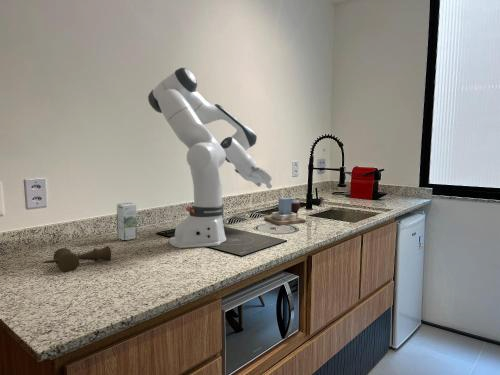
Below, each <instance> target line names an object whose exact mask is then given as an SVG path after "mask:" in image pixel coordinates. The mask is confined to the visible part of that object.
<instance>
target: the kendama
mask: <svg viewBox="0 0 500 375" xmlns="http://www.w3.org/2000/svg"><path fill="white" fill-rule="evenodd" d="M52 258H53V259H50V260H44V261H43V262H42V264H51V263H52V264H54V263H55V264H56V265H57V267H58V269H59V271H61V272H63V273H67V272H74V271H75V270H77V268H78V267H79V265H80V261H94V262H96V263H97V262H99V261H101V260H102V261H107V262H110V261H111V260H112V249H111V247H110V246H109V245H106V246H104V247H103V248H100V249H99V248H93V250H91V251H88V252H85V253H81V254H77V253H74V252H72V251H71V250H70V249H69V248H66V247H62V248H58V249H57V250H56V251H55V252H54V253H53V257H52Z"/></svg>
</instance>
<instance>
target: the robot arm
mask: <svg viewBox="0 0 500 375" xmlns="http://www.w3.org/2000/svg"><path fill="white" fill-rule="evenodd" d="M197 87H198V81H197V78H196V76H195V75H194V74H193V72H192V71H190V70H189V69H188V68H186V67H180V68H178V69H176V70H175V71H174V72H173V73H171V74H169V76H167V77H166V78H164V79H163V80H161V81H160V83H158V84H157V85H156V86H155V87H154V89H152V90H151V91H150V92H149V94H148V95H147V101H148V104H149V105H150V106H151V108H152V109H153V110H154V111H155V112H157V113H159V114H162V115H163V117H164V119H165V120H166V122H167V123H168V125H169V126H170V128H171V130H172V131H173V132H174V134H175V135H176V137H177V138H178V140H180V142H181V143H183V144H184V145H185V146H186V147H187V148H188V150H187V153H186V161H187V164H188V165H189V168H190V169H189V170H190V174H191V178H192V185H193V202H194V203H193V206H189V205H187V206H186V207H185V211H186V212H188V213H189V215H188V216H187V217H186V218H184V219H183V220H182V221H180V223H178V224H177V226H176V227H175V231H174V236H173V237H170V238H169V239H168V242H169V244H170V245H171V246H172V247H175V248H179V249H186V248H200V247H214V246H215V247H216V246H220V245H221V244H222V243H224V242H226V240H227V237H226V233H225V227H224V205H223V191H222V190H223V185H222V183H221V178H220V172H219V168H220V167H221V166H222V165H223V164H224V163H225V161H226V162H227V163H230V164H233V166H234V167H235V169H234V172H235V173H237V174H238V175H239V176H241V178H242V179H243V180H246V182H252V183H253V184H254V185H255V186H257V187H261V185H262V184H264V185H265V187H266V188H267V189H272V188H273V185H272V184H271V181H272V179H273V178H272V176H271V175H270V174H269V173H268V172H267V171H266V170H265V169H263V167H258V166H257V164H258V163H257V161H256V160H255V159H254V158H253V157H252V156H251V155H250V154H249V153H248V152H247V151H248V149H250V148H252V147H253V146H255V145H256V144H257V138H258V137H257V134H256V132H255V131H254V130H253V129H251V128H250V127H249V126H247V125H245V124H243V122H242V121H241V120H239V119H238V118H236V117H235V115H234V114H232V113H231V112H229V110H227V109H225V108H224V107H223V106H222V105H220V104H217V103H216V104H213V103H211V102H208V100H206V99H205V98H204V97H203V96H202V94H201V93H200V92H198V90H197ZM221 120H223V121H226V122H227V123H228V124H229V125H231V126H232V127H233V128H234V129H235V130H236V132H234V134H232V135H231V136H227V137H225V138H224V139H222V141H220V143H219V142H218V140H217V139H216V138H215V136H213V134H212V133H211V132H210V131H209V130H208V128H207V127H206V126H205V125H208V124H211V123H213V122H215V121H221Z"/></svg>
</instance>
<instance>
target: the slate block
mask: <svg viewBox="0 0 500 375" xmlns="http://www.w3.org/2000/svg"><path fill="white" fill-rule="evenodd" d="M291 199H292V198H291ZM291 199H290V197H278V212H279V214H280V215H290V214H291Z"/></svg>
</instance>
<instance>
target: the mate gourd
mask: <svg viewBox="0 0 500 375" xmlns="http://www.w3.org/2000/svg"><path fill="white" fill-rule="evenodd" d="M283 189H284V190H285V191H286V193H287V194H288V198H290V199H291V212H292V213H296V214H297V213H299V212H298V211H299V210H300V207H301V203H300V202H301V201H300V200H299V199H296V198H292V197H291V195H290V192H289V190H288V189H287V188H286V187H285V186H283Z"/></svg>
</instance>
